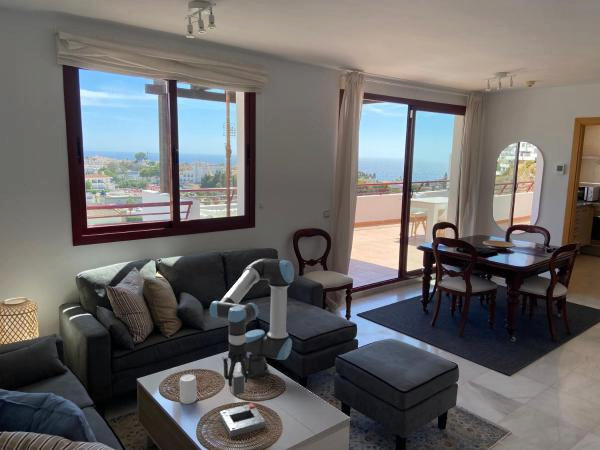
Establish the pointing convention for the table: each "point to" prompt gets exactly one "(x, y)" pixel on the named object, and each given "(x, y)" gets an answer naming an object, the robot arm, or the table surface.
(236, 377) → the plug
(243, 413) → the socket
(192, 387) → the white upside-down cup
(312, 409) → the table surface
